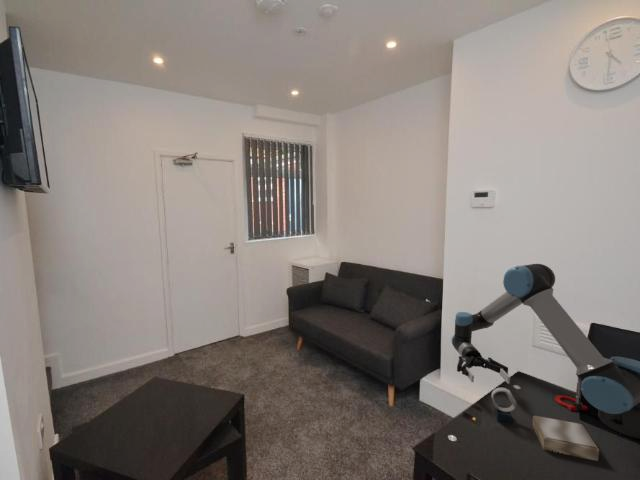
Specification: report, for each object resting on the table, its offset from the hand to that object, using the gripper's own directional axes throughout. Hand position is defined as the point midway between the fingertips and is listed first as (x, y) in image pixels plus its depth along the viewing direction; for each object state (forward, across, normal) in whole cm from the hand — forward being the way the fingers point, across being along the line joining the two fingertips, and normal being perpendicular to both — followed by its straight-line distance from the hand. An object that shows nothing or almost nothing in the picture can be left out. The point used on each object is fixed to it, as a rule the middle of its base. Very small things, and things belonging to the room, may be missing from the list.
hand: (490, 379), depth 125 cm
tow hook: (0, -30, -9) cm, 31 cm away
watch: (+10, 0, -9) cm, 14 cm away
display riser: (+21, -14, -9) cm, 27 cm away
